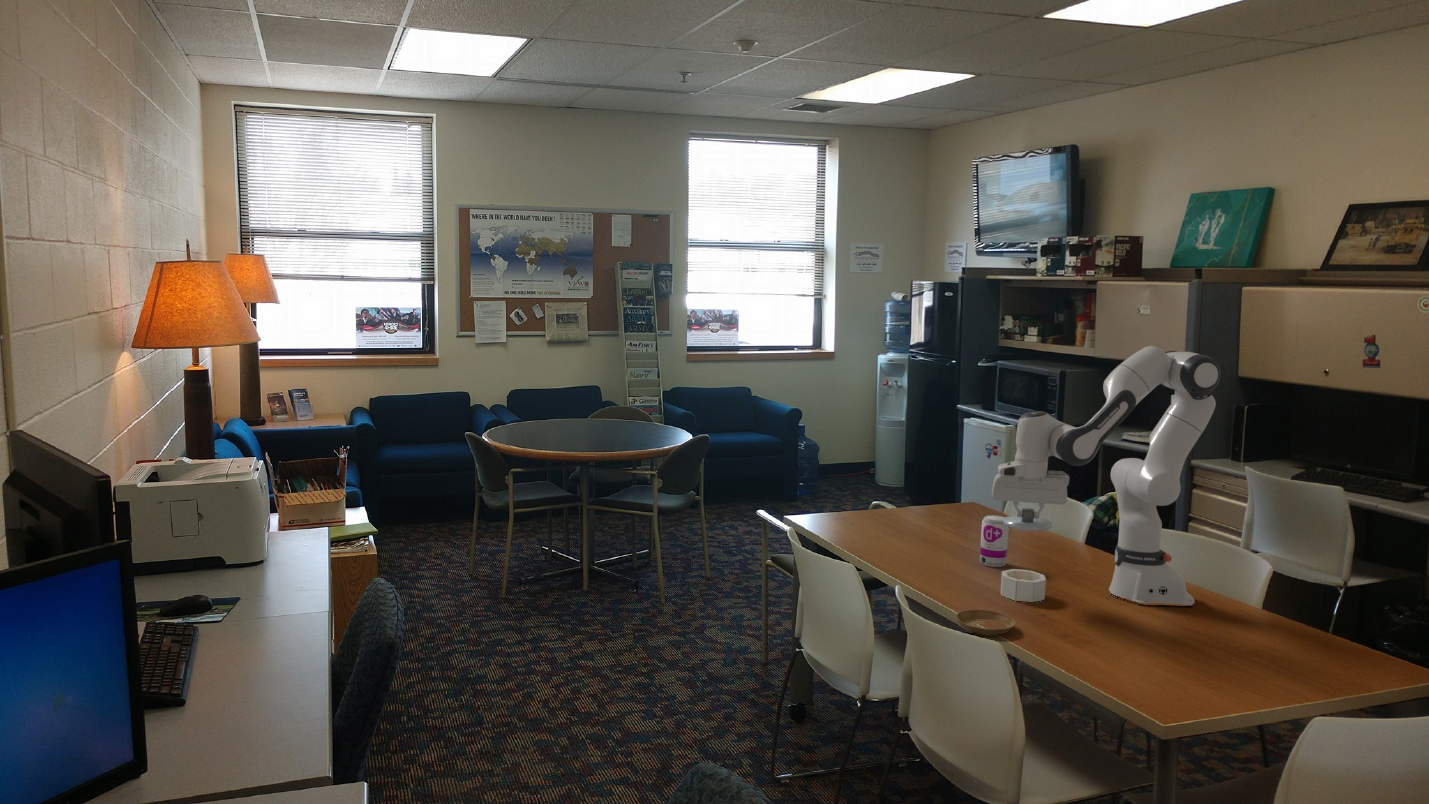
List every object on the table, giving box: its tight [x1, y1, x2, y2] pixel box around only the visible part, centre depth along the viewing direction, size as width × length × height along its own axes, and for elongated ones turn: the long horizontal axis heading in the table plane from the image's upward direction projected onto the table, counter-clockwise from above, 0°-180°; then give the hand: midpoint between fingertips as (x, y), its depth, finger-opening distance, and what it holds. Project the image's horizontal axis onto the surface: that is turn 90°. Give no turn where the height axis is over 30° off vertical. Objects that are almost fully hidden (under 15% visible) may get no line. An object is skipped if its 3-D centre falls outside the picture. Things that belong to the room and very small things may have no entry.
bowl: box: [1000, 568, 1047, 602], centre depth 273 cm, size 12×12×6 cm
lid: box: [1003, 507, 1053, 532], centre depth 271 cm, size 13×13×4 cm
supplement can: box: [979, 514, 1010, 568], centre depth 304 cm, size 8×8×15 cm
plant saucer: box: [955, 609, 1016, 636], centre depth 247 cm, size 15×15×3 cm
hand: (1027, 517), depth 271 cm, fingers closed on lid, 3 cm apart
